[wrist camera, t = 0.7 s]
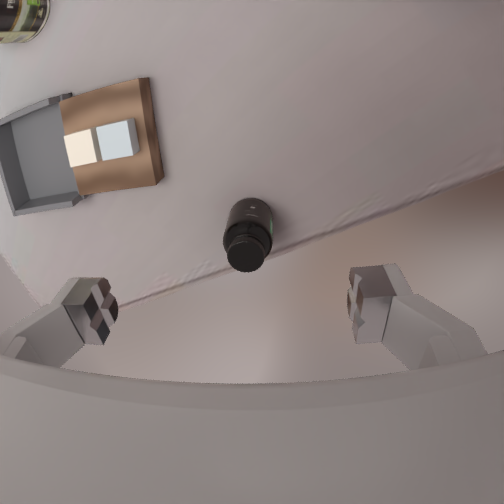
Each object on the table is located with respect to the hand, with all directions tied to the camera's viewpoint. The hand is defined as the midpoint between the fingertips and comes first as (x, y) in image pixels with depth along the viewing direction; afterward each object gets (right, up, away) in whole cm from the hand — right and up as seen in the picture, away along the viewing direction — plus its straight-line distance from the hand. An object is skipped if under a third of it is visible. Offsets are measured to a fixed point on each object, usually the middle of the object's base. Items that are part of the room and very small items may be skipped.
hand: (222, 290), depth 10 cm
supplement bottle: (+1, +7, +41) cm, 42 cm away
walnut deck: (-20, +20, +34) cm, 45 cm away
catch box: (-35, +19, +36) cm, 54 cm away
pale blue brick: (-18, +18, +31) cm, 40 cm away
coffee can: (-38, +42, +22) cm, 61 cm away
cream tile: (-24, +17, +31) cm, 43 cm away
